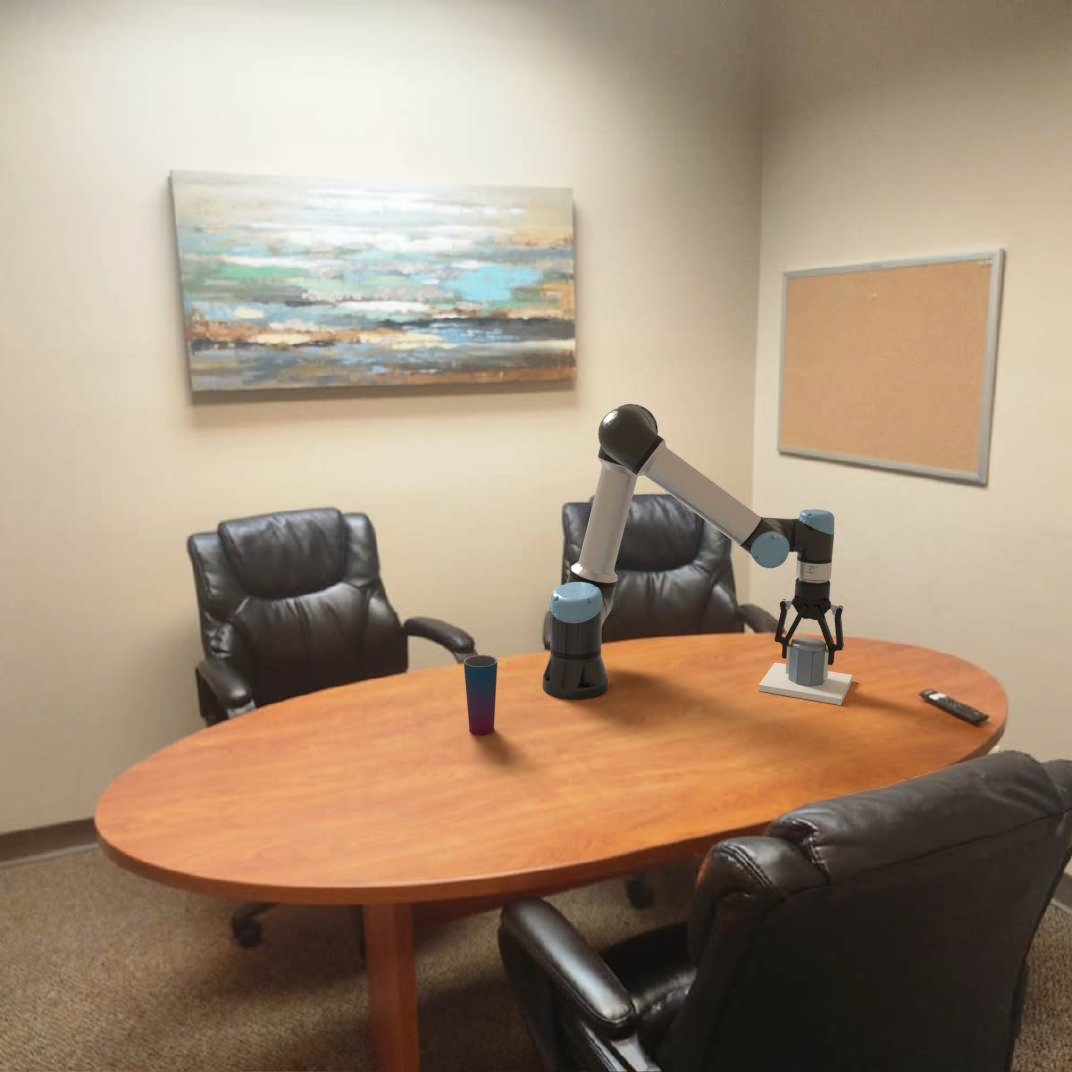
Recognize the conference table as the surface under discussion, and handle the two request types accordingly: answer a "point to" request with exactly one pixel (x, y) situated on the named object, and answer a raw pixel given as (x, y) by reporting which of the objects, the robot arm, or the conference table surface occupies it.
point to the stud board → (827, 693)
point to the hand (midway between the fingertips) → (806, 674)
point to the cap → (807, 661)
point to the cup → (481, 692)
